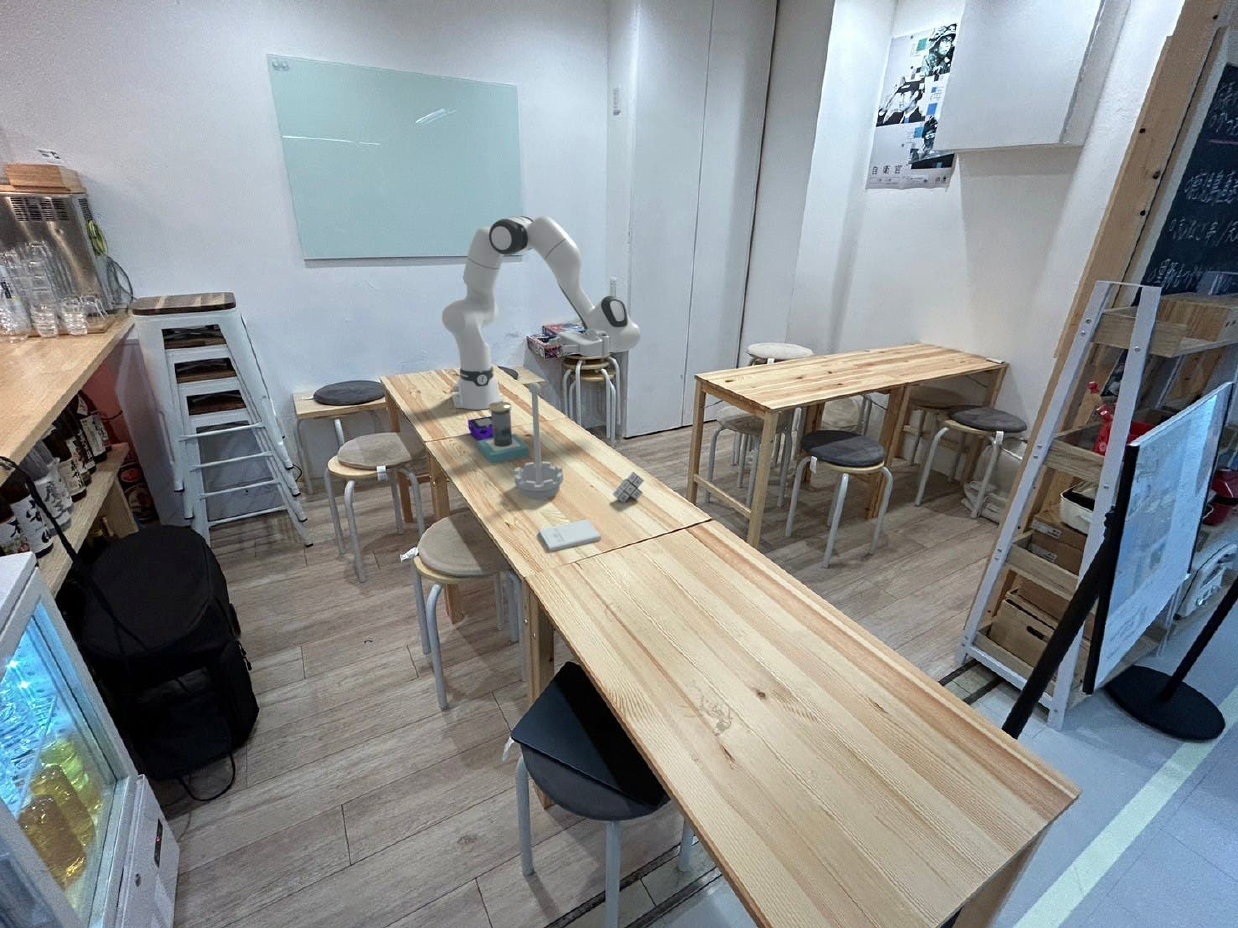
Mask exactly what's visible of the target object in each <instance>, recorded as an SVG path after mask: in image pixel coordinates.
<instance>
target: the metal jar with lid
mask: <svg viewBox="0 0 1238 928" xmlns="http://www.w3.org/2000/svg"><path fill="white" fill-rule="evenodd" d="M488 410H489V411H490V416H491V417H492V429H493V441H494V445H495V446H499V447H505V446H509V445H511V444H512V434H513V431H512V418H511V410H512V404H511V403H510V402H507V401H501V402H495V403H492V404H490V405H489V408H488Z"/></svg>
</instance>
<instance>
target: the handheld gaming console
mask: <svg viewBox="0 0 1238 928" xmlns="http://www.w3.org/2000/svg"><path fill="white" fill-rule="evenodd" d="M467 426H468V430H469V431H470V434H471V436H472V437H473V438H474V439H475V440H476V441H477V442H478V441H480V440H485V439H490V438H493V429H492V417H491V415H490V416H483V417H478V418H472V419H468V420H467Z"/></svg>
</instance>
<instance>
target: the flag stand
mask: <svg viewBox="0 0 1238 928" xmlns="http://www.w3.org/2000/svg"><path fill="white" fill-rule="evenodd" d="M527 389H528V391H529V393H530V394H531V407H532V425H533V426H532V429H533V445H534V447H533V448H534V449H533V450H534V461H531V462H527V463H524V467H523V468H522V467H519V466H517V467H516V468H515V469H514V471H513V472H514V475H513V482H514V484H515V485H516V486H517V487H518V492H519V495H521V497H523V498H525V499H526V498H527V499H531V500H544V499H545V500H546V499H550V498H552V497H554V496H556V495H557V494H558V493H560V489H561V488H560V487H561V486H560V485H562V483H563V481H564V473H563V468H562V466H560V465H559V464H557V465H554V466H552V462H551V461H542V459H541V436H540V435H541V434H540V418H539V417H540V414H539V412H540V411H539V395H538V394H539V393H540V391H541V385H540V384H539V383H537V382H531V383H530V384H528V387H527Z"/></svg>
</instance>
